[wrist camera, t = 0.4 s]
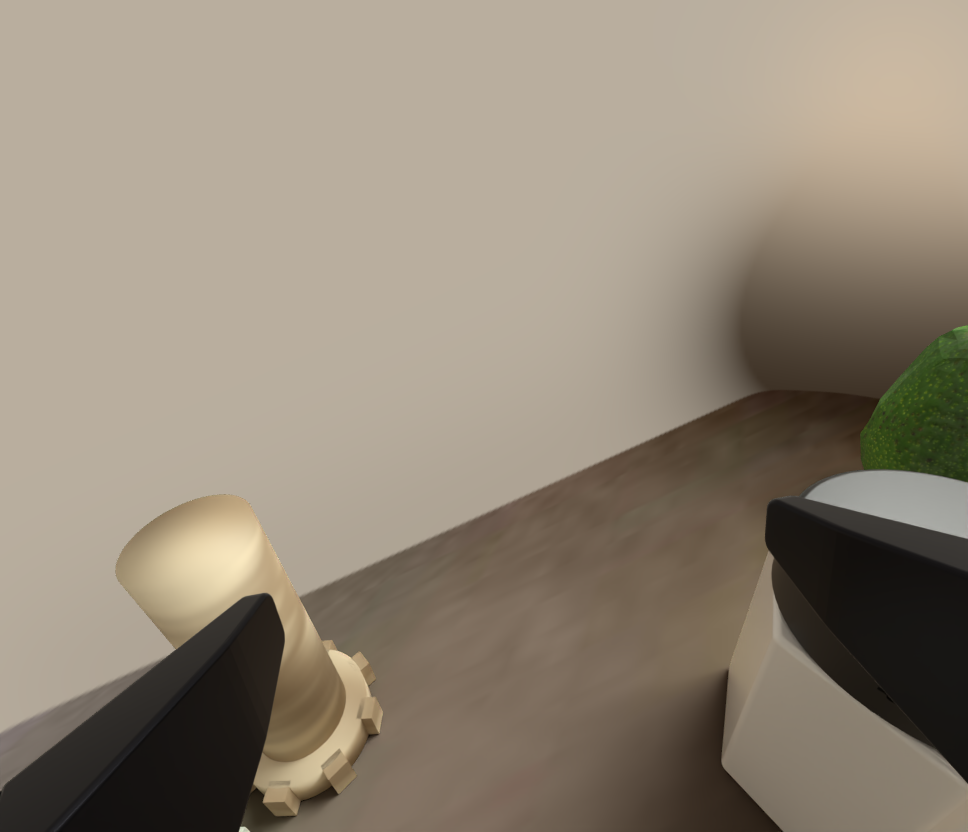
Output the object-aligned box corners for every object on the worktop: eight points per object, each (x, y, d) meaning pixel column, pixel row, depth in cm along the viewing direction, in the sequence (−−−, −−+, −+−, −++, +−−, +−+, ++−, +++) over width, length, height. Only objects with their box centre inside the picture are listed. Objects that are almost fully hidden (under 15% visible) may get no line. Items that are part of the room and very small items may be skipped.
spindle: (365, 813, 19) (240, 628, 12) (208, 818, 19) (-3, 643, 12) (393, 653, 24) (320, 463, 17) (271, 659, 25) (152, 477, 18)
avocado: (871, 452, 33) (943, 290, 27) (1024, 511, 28) (1163, 324, 21) (816, 503, 30) (884, 332, 23) (978, 582, 24) (1126, 386, 18)
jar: (779, 912, 15) (930, 759, 9) (681, 669, 22) (725, 481, 16) (1051, 888, 15) (1408, 714, 9) (867, 650, 22) (990, 452, 16)
